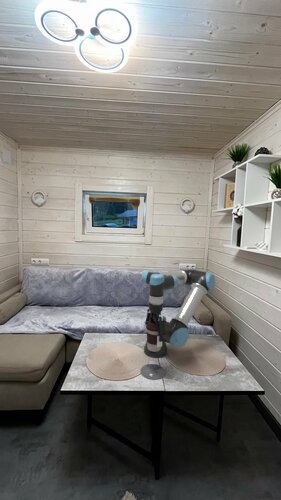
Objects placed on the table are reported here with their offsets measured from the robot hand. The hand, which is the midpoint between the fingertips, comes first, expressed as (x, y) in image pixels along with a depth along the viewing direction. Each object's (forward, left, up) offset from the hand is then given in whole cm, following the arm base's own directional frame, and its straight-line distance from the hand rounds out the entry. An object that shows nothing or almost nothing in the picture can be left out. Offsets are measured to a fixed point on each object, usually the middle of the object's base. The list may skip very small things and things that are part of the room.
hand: (154, 342), depth 137 cm
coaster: (0, 0, -17) cm, 17 cm away
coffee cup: (0, 0, -4) cm, 4 cm away
